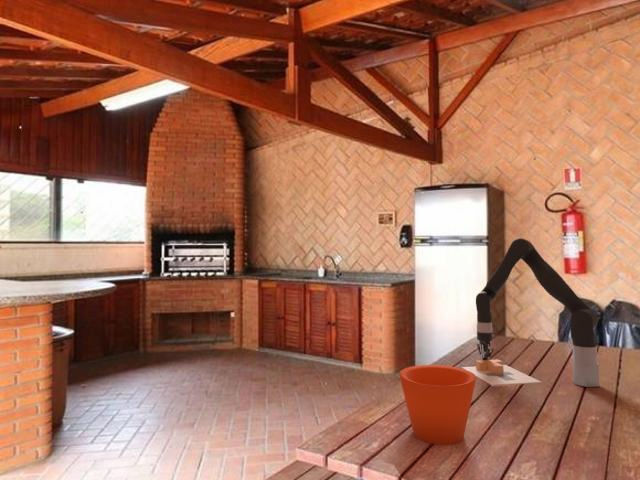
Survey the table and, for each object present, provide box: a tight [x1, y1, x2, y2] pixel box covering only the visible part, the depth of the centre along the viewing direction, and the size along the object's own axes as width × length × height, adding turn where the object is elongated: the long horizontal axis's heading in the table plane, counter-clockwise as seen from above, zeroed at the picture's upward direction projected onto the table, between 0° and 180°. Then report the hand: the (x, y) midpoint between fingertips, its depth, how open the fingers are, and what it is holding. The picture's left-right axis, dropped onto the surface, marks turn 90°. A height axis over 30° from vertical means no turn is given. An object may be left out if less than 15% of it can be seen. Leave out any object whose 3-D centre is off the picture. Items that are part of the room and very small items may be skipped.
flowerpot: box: [398, 364, 477, 446], centre depth 151 cm, size 25×25×20 cm
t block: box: [475, 359, 504, 375], centre depth 222 cm, size 12×12×4 cm
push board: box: [461, 364, 542, 387], centre depth 217 cm, size 30×24×1 cm
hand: (485, 364), depth 230 cm, fingers closed
